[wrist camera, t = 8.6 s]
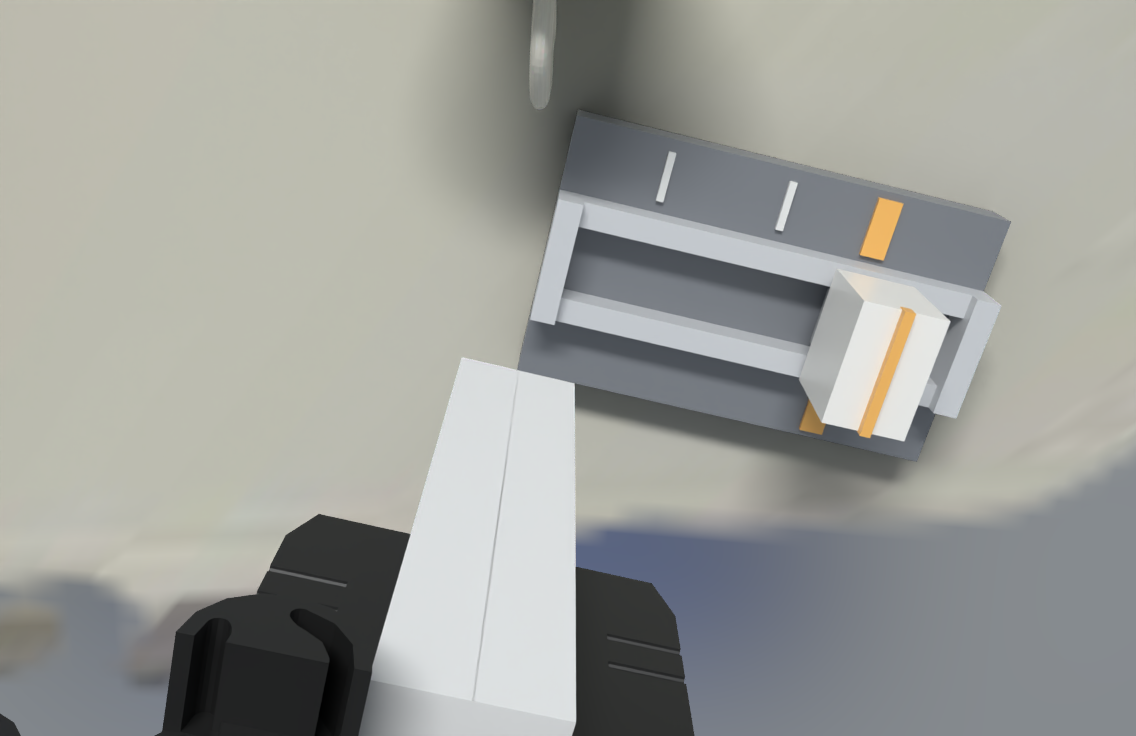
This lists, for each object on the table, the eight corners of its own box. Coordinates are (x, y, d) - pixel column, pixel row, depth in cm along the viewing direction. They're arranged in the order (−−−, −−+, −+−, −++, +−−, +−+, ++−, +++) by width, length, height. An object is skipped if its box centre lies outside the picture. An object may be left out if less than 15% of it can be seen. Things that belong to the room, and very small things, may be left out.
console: (520, 354, 47) (513, 387, 43) (577, 109, 43) (576, 121, 39) (903, 442, 48) (930, 482, 44) (993, 211, 44) (1030, 233, 40)
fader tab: (791, 367, 44) (822, 427, 38) (828, 257, 42) (867, 302, 36) (863, 383, 44) (906, 446, 38) (903, 275, 43) (954, 322, 37)
